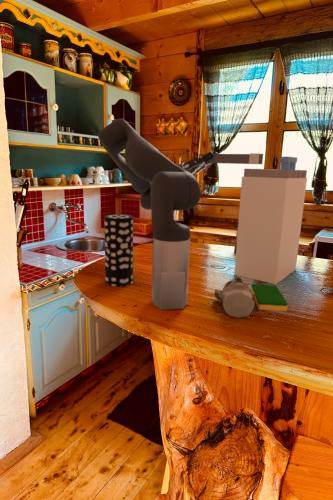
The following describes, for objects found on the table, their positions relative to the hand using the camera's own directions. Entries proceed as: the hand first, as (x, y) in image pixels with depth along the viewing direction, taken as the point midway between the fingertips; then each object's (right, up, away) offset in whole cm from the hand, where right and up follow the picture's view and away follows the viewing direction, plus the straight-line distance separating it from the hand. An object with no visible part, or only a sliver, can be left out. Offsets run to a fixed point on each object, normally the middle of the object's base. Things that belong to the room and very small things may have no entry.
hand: (215, 154), depth 116 cm
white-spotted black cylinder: (-31, -43, -13) cm, 55 cm away
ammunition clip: (+17, -34, +26) cm, 46 cm away
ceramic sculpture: (+1, -48, -31) cm, 57 cm away
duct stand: (+18, -41, 0) cm, 44 cm away
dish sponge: (+11, -47, -24) cm, 54 cm away
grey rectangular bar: (+4, -4, -3) cm, 6 cm away
